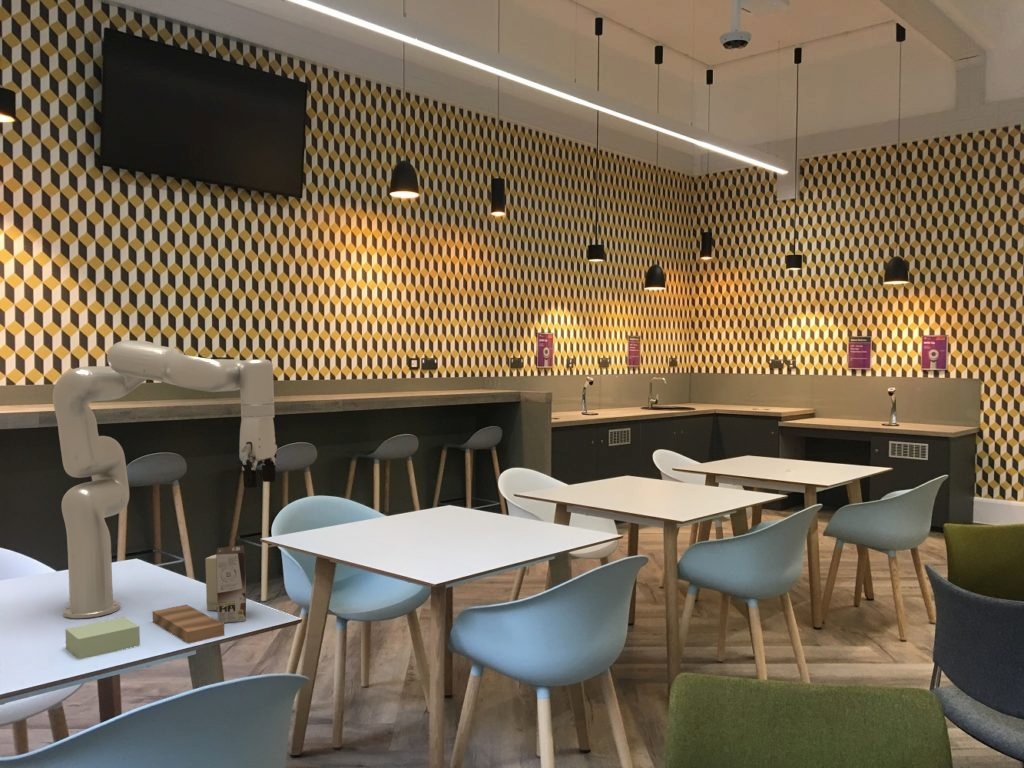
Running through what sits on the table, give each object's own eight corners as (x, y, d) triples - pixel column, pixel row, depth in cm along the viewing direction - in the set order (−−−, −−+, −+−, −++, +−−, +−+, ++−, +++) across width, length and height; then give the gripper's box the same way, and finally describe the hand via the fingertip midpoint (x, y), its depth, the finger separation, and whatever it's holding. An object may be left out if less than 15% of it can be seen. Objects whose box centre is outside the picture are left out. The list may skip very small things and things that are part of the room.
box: (222, 611, 210) (220, 558, 210) (206, 610, 211) (204, 558, 211) (233, 605, 216) (232, 553, 215) (217, 604, 216) (215, 553, 216)
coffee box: (246, 621, 202) (244, 552, 201) (217, 624, 200) (215, 554, 199) (247, 610, 210) (244, 544, 210) (219, 613, 209) (216, 546, 208)
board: (152, 624, 203) (152, 611, 203) (187, 616, 208) (186, 604, 208) (188, 645, 186) (187, 631, 186) (224, 637, 192) (224, 623, 191)
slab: (66, 649, 185) (65, 628, 185) (124, 636, 193) (124, 616, 193) (79, 661, 178) (78, 639, 178) (140, 647, 186) (139, 626, 186)
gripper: (259, 410, 214) (261, 479, 214) (225, 414, 197) (227, 489, 197) (288, 409, 212) (290, 479, 213) (256, 413, 195) (258, 489, 196)
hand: (260, 484), depth 205 cm, fingers open, 9 cm apart
